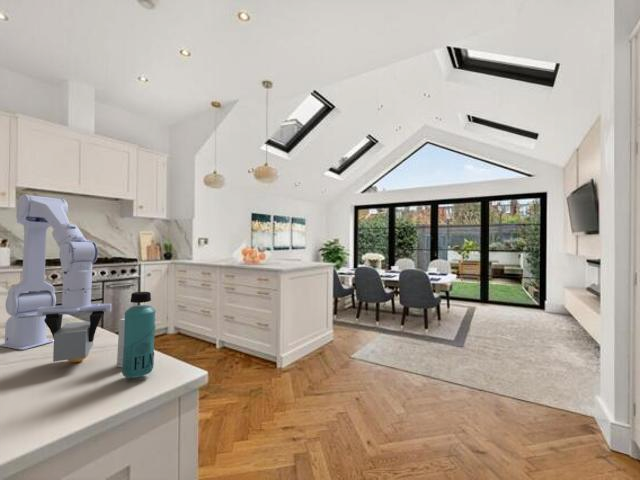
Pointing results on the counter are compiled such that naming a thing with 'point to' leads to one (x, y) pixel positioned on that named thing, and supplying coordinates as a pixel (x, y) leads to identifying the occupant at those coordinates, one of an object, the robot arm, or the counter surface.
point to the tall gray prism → (72, 341)
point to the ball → (77, 359)
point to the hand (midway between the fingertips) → (74, 342)
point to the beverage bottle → (139, 337)
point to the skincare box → (120, 343)
